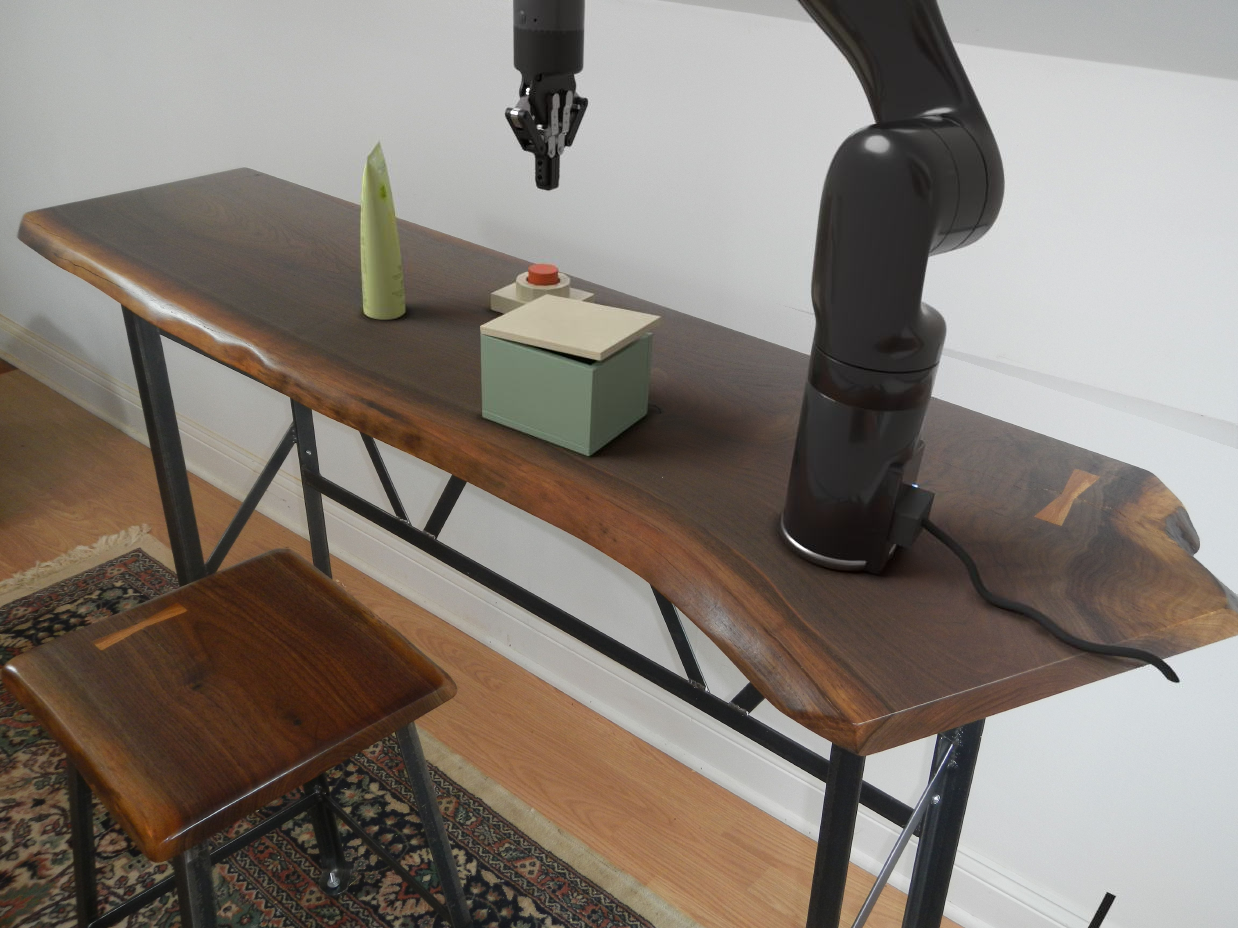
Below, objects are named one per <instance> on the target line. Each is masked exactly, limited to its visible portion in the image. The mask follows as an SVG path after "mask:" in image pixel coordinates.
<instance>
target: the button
mask: <svg viewBox="0 0 1238 928" xmlns="http://www.w3.org/2000/svg"><path fill="white" fill-rule="evenodd" d="M527 272H528V282H529V283H530V284H534V285H540V286H549V285H555V284H558V273H559V267H557V266H556V265H553V264H549V263H535V264H532V265H530V266H529V267H528V271H527Z"/></svg>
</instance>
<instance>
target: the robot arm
mask: <svg viewBox="0 0 1238 928" xmlns="http://www.w3.org/2000/svg"><path fill="white" fill-rule="evenodd" d="M795 1H796V2H797V3H798V4H799V5H800V7H801V8H802V9H803V11H805V13H806V14H807V16H809V18H810V19H811V20H812V22H814V23H815V24H816V26H817V27H818V28H819V29H820V30H821V32H823V34H824V35H825V36H826V37H827V38H828V40H829V41H830V42H831V43H832V44H833V45H834V47H836V49H837V51H839V53H840V54H841V55H842V57H844V59H845V60H846V61H847V63H848V64H849V66H850V68H851V69H852V71H853V72H854V74H855V76H856V78H857V80H858V82H859V84H860V86H861V88H862V90H863V93H864V95H865V98H866V100H867V102H868V105H869V108H870V111H871V114H872V116H873V120H874V123H872V124H868V125H865V126H863V127H860V128H858V129H856V130H854V131H853V132H852V133H850V134H849V135H847V137H846V138H845V139H844V140H843V141H842V142H841V143H840V145H839V146H838V148H837V149H836V151H835V153H834V154H833V156H832V158H831V161H830V163H829V166H828V168H827V171H826V174H825V178H824V181H823V185H822V190H821V196H820V201H819V208H818V217H817V225H816V226H817V227H816V233H815V234H816V235H815V244H814V253H813V262H812V272H811V279H810V280H811V282H810V296H811V297H810V299H811V304H812V310H813V314H814V319H815V323H814V325H815V327H814V331H813V337H812V342H811V349H810V355H809V363H808V366H807V372H806V376H805V377H806V378H805V383H804V390H803V396H802V401H801V407H800V412H799V419H798V425H797V431H796V436H795V442H794V449H793V454H792V460H791V465H790V470H789V478H788V484H787V488H786V489H787V490H786V496H785V502H784V504H783V510H782V514H781V519H780V523H779V534H780V537H781V540H782V541H783V542H784V544H785V546H787V547H788V548H789V549H790V550H791V551H792V552H793V553H794V554H796V555H797V556H799V557H800V558H802V559H804V560H806V561H808V562H810V563H813V564H815V565H818V566H819V567H820V566H821V567H824V568H827V569H831V570H837V571H844V572H845V571H847V572H858V571H863V572H867V573H871V574H872V575H873V574H874V575H879V574H880V573H881V572H882V570H883V569H884V567H885V566H886V565H887V563H888V561H890V559H891V558H892V557H893V555H894V554H895V551H896V549H897V548H898V546H900V547H903V548H906V549H908V550H911V549H912V547H913V546H914V544H915V543H916V541H917V540H918V537H919V536H920V535H921V533H922V532H923V530H926V531H927V532H928V533H930V534H931V536H934V538H936V539H937V540H939V541H940V542H941V544H943V545H945V546H946V547H947V548H948V549H949V550H951V551H952V553H953V554H955V555H956V556H957V558H958V559H959V560H960V561H961V562H962V563H963V565H964V566H965V568H966V570H967V572H968V575H969V578H970V581H971V583H972V586H973V587H974V589H975V591H976V592H977V594H978V595H979V596H980V597H981V598H982V599H983V600H984V601H986V602H987V603H988V604H991V605H992V606H995V607H998V608H1001V609H1003V610H1008V611H1012V612H1016V613H1018V614H1019V613H1020V614H1022V615H1025V616H1027V617H1028V618H1031V619H1032V620H1034V621H1035V622H1036V623H1038V624H1039V625H1040V626H1042V628H1044V629H1045V630H1046V631H1047V632H1049V633H1050V634H1051V635H1052V636H1054V637H1055V638H1057V639H1058V640H1060V641H1061V642H1062V643H1064V644H1067V645H1068V646H1070V647H1073V648H1075V649H1077V650H1081V651H1084V652H1087V653H1092V654H1096V655H1104V656H1111V657H1118V658H1128V659H1133V660H1138V661H1142V662H1145V663H1147V664H1149V665H1151V666H1152V667H1154V668H1156V669H1157V670H1158V671H1159V672H1160V673H1161V674H1162V675H1163V676H1164V678H1166V680H1167V681H1169V682H1171V683H1174V684H1180V682H1181V680H1180V678H1179V676H1178V675H1177V673H1176V671H1175V670H1174V669H1173V668H1172V666H1170V665H1169V664H1168V663H1167V662H1166V661H1165V660H1163V659H1162V658H1161V657H1159V656H1157V655H1156V654H1153V653H1150V652H1148V651H1146V650H1143V649H1139V648H1133V647H1127V646H1119V645H1109V644H1102V643H1096V642H1091V641H1087V640H1084V639H1082V638H1079V637H1076V636H1074V635H1072V634H1070V633H1068V632H1067V631H1066V630H1064V629H1063V628H1062V627H1060V626H1059V625H1057V624H1056V623H1055V622H1054V621H1053V620H1051V619H1050V618H1049V617H1048V616H1046V615H1045V614H1043V613H1042V612H1040V611H1039V610H1038V609H1035V608H1034V607H1032V606H1029V605H1027V604H1024V603H1021V602H1017V601H1014V600H1009V599H1006V598H1002V597H1000V596H998V595H996V594H994V593H992V592H991V591H990V590H988V589H987V587H986V586H985V584H984V583H983V580H982V578H981V576H980V572H979V570H978V568H977V565H976V563H975V561H974V560H973V558H972V557H971V555H969V553H968V552H967V551H966V550H965V549H964V548H963V547H962V546H961V545H960V544H959V543H958V542H957V541H956V540H955V539H953V538H952V537H951V536H950V535H949V534H948V533H946V532H945V531H944V530H942V529H941V528H940V527H938V526H937V525H935V523H933V522H932V521H931V520H930V519H929V518H930V514H931V510H932V507H933V503H934V500H935V496H936V493H935V492H934V491H931V490H926V489H924V488H921V487H918V485H916V483H917V479H918V476H919V471H920V468H921V463H922V460H923V456H924V452H925V448H926V441H925V440H924V439H922V434H923V431H924V427H925V426H924V425H925V422H926V419H927V414H928V410H929V406H930V403H931V399H932V394H933V391H934V386H935V383H936V382H935V381H936V378H937V375H938V370H939V366H940V363H941V358H942V355H943V351H944V347H945V342H946V338H947V330H948V326H947V321H946V319H945V317H944V316H943V314H942V313H941V312H940V311H939V310H938V309H937V308H935V307H934V306H932V305H931V304H928V303H927V302H925V301H923V300H922V299H923V293H924V292H923V291H924V286H925V285H924V284H925V279H926V275H927V274H926V273H927V267H928V262H929V258H931V257H934V256H938V255H941V254H946V253H949V252H953V251H956V250H960V249H963V248H966V247H969V246H971V245H972V244H975V243H977V242H978V241H980V240H981V239H982V238H984V237H985V236H986V235H987V234H988V233H989V231H990V230H991V229H992V228H993V226H994V225H995V223H996V221H997V219H998V217H999V215H1000V212H1001V209H1002V206H1003V204H1004V203H1003V202H1004V197H1005V186H1006V185H1005V183H1006V181H1005V180H1006V179H1005V169H1004V162H1003V158H1002V154H1001V151H1000V147H999V145H998V142H997V139H996V137H995V135H994V132H993V130H992V128H991V124H990V123H989V120H988V118H987V116H986V114H985V112H984V109H983V106H982V105H981V103H980V100H979V99H978V96H977V94H976V92H975V90H974V87H973V86H972V83H971V81H970V79H969V76H968V74H967V72H966V70H965V68H964V65H963V64H962V61H961V59H960V57H959V55H958V52H957V50H956V47H955V45H954V43H953V41H952V38H951V36H950V34H949V31H948V29H947V25H946V23H945V20H944V18H943V14H942V11H941V9H940V6H939V3H938V0H795ZM585 16H586V0H512V32H513V35H512V37H513V41H512V42H513V47H512V48H513V67H514V69H515V70H516V71H517V72H519V73H520V75H521V81H520V85H519V89H518V97H519V100H518V102H517V103H516V105H515V106H514V107H511V106H510V107H509V106H508V107H507V108H506V109H505V111H504V117H505V119H506V121H507V123H508V125H509V127H510V128H511V130H512V132H513V135H514V136H515V139H516V140H517V142H518V144H519V145H520V147H521V150H522V151H523V152H528V153H531V154H533V156H534V181H535V186H536V188H537V189H538V190H543V191H546V192H547V191H548V192H551V191H554V190H556V189H558V188H559V186H560V177H561V176H560V172H561V171H560V168H561V156H562V155H563V154H564V152H565V148H566V147H567V148H570V147H572V146H573V143H574V141H575V138H576V135H577V133H578V131H579V129H580V126H581V123H582V121H583V119H584V117H585V113H586V111H587V109H588V106H589V99H588V98H587V97H582V96H581V95H579V94H578V92H577V81H576V78H575V75H578V74H579V73H581V72H582V71H583V70H584V63H585V62H584V60H585V59H584V58H585V57H584V56H585V24H586V23H585ZM1116 898H1117V895H1115V894H1113V893H1110V892H1109V891H1106V893H1105V894H1104V897H1103V899H1102V900H1101V902H1100V904H1099V906H1098V908H1097V910H1096V911H1095V914H1094V915H1093V917H1092V919H1091V921H1090V923H1089V925H1088V927H1087V928H1101V925H1102V923H1103V922H1104V920H1105V918H1106V916H1107V915H1108V913H1109V911H1110V909H1111V908H1112V905H1113V904H1114V901H1115V899H1116Z"/></svg>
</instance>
